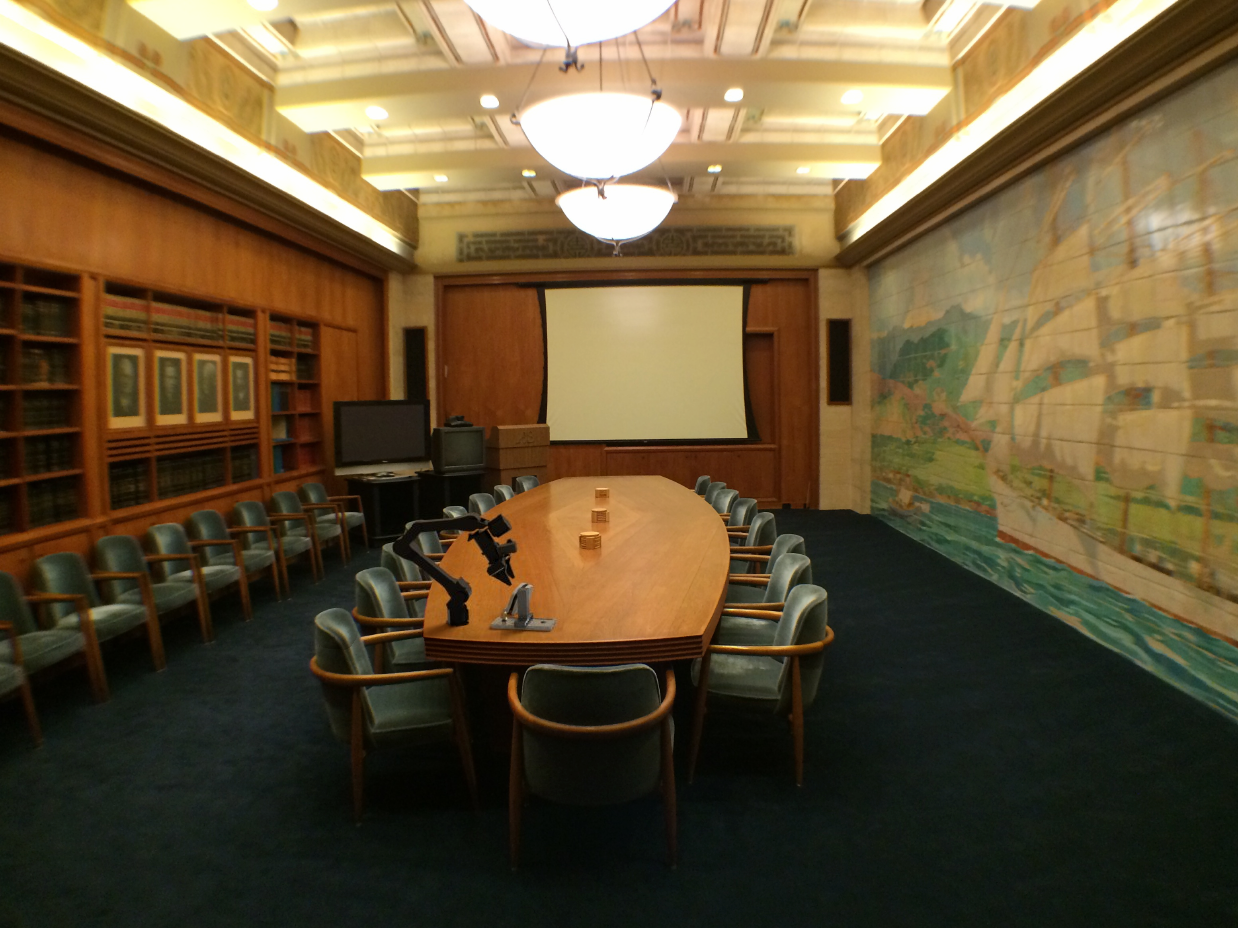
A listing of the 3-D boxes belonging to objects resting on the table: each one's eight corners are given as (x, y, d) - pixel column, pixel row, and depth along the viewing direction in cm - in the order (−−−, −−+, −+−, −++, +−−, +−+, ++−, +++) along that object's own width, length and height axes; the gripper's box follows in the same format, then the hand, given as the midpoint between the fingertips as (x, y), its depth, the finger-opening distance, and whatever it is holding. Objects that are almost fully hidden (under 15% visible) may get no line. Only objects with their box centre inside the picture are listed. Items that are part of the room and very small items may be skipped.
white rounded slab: (517, 600, 268) (524, 577, 267) (528, 605, 268) (536, 581, 266) (501, 614, 252) (509, 589, 250) (513, 619, 251) (521, 594, 250)
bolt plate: (491, 628, 237) (490, 615, 236) (498, 620, 245) (497, 608, 244) (550, 630, 234) (550, 617, 233) (556, 622, 242) (556, 610, 241)
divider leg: (514, 627, 234) (513, 593, 233) (522, 617, 245) (521, 584, 243) (525, 628, 234) (524, 593, 233) (533, 618, 244) (532, 584, 243)
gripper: (503, 538, 231) (529, 576, 232) (510, 527, 249) (534, 562, 251) (475, 556, 231) (501, 594, 233) (484, 543, 250) (508, 579, 251)
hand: (512, 581), depth 242 cm, fingers open, 9 cm apart
